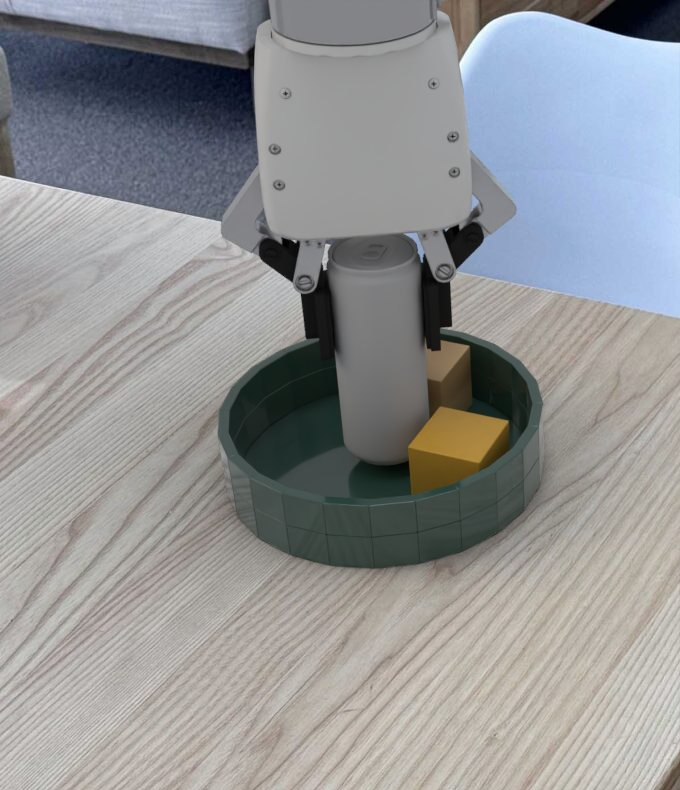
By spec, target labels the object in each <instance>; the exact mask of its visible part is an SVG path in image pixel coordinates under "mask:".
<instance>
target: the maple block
mask: <svg viewBox="0 0 680 790" xmlns="http://www.w3.org/2000/svg"><path fill="white" fill-rule="evenodd" d="M425 348H426V368H427V385H428V402H429V419H430V418H431V417H432V416H433V415H434V413H435V412H436V411H437V410H438V408H439V407H446V408H450V409H455V410H460V411H465V412H466V411H467V410H468V409H469V408H470V406H471V405H472V384H471V362H470V346H468V345H462V344H457V343H452V342H447V341H442V340H441V351H431V349H427V345H426V339H425Z"/></svg>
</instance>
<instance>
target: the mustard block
mask: <svg viewBox="0 0 680 790" xmlns="http://www.w3.org/2000/svg"><path fill="white" fill-rule="evenodd" d="M509 450H510V444H509V421H507V420H503V419H498V418H493V417H488V416H484V415H479V414H474V413H469V412H465V411H460V410H455V409H450V408H446V407H439V408H438V410H437V411H436V412H435V413H434V415H433V416H432V417H431V418H430V420H429V421H428V422H427V423H426V425H425V426H424V427H423V428H422V430H421V431H420V432H419V434H418V435H417V436H416V437H415V439H414V440H413V441H412V442H411V444H410V445H409V446H408V453H409V466H410V479H411V492H412V495H414V494H418V493H421V492H425V491H429V490H433V489H436V488H440V487H444V486H447V485H451V484H454V483H456V482H458V481H460V480H462V479H464V478H466V477H468V476H470V475H473V474H475V473H477V472H479V471H481V470H483V469H485V468H487V467H489V466H490V465H491V464H493V463H494V462H495V461H497V460H498V459H499V458H500V457H502V456H503V455H504V454H505V453H507V452H508V451H509Z"/></svg>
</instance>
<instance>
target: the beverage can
mask: <svg viewBox="0 0 680 790" xmlns="http://www.w3.org/2000/svg"><path fill="white" fill-rule="evenodd" d="M418 248H419V247H418V244H417V242H416V241H415V240H414V238H412V237H411V236H409V235H407V234H394V235H382V236H369V237H356V238H342V239H335V241H334V242H332V243H331V244H330V245H329V247H328V249H327V260H326V261H327V262H326V264H325V265H326V266H325V267H326V270H327V279H328V289H329V299H330V308H331V318H332V328H333V338H334V348H335V358H336V368H337V378H338V388H339V398H340V408H341V418H342V428H343V438H344V444H345V445H346V447H347V449H348V450H349V451H350V452H351V453H352V454H354V455H355V456H356V457H357V458H358V459H360V460H362V461H364V462H367V463H370V464H374V465H396V464H399V463H403V462H406V461H408V460H409V453H408V446H409V445H410V444H411V442H412V441H413V440H414V439H415V437H416V436H417V435H418V434H419V432H420V431H421V430H422V428H423V427H424V426H425V425H426V423H427V422H428V421H429V420H430V419H429V402H428V385H427V368H426V348H425V325H424V305H423V288H422V265H421V262H422V260H421V259H422V258H421V256H420V254H419V249H418Z"/></svg>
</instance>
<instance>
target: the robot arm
mask: <svg viewBox="0 0 680 790" xmlns="http://www.w3.org/2000/svg"><path fill="white" fill-rule="evenodd" d="M444 1H447V0H267V2H268V10H269V18H270V19H267V20H265V21H264V22H262V23H260V24H259V25H257V28H256V34H255V44H254V60H253V62H254V63H253V64H254V65H253V94H254V95H253V96H254V97H253V98H254V115H255V133H256V145H257V146H256V147H257V158H258V164H257V165H256V167H255V168H254V170H253V171H252V173H251V174H250V175H249V177H248V178H247V180H246V181H245V183H244V184H243V186H242V187H240V189H239V192H237V194H236V196H235V197H234V199H232V201H231V203H230V205H228V208H226V210H225V212H224V213H223V215H222V216H221V221H220V234H221V236H222V238H223V239H225V240H226V241H228V242H229V243H232V244H234V245H235V246H237V247H239V248H241V249H243V251H244V250H245V251H246V252H248V253H250V254H254V255H256V256H257V257H259V259H260V260H261V261H262V262H263V263H264V264H265V265H267V266H268V267H270V268H271V269H272V270H274V271H275V272H276V273H278V275H280V276H282V277H283V278H285V279H286V280H288V281H289V282H290V283H292V286H293V289H294V290H295V291H296V292H297V293H299V294H300V300H301V301H300V302H301V311H302V319H303V327H304V335H305V340H307V339H315V338H319V343H320V352H321V361H326V360H331V357H335V348H334V338H333V328H332V318H331V308H330V299H329V289H328V279H327V269H324V265H323V258H324V254H325V249H326V244H327V241H329V240H338V239H342V238H356V237H369V236H382V235H394V234H405V235H407V234H415V233H416V234H417V237H418V240H419V242H420V245H421V248H422V250H423V255H422V261H421V265H422V288H423V305H424V325H425V339H426V345H427V349H431V351H441V337H440V328H443V329H447V328H453V307H452V290H451V289H452V288H451V282H452V281H453V280H454V279H455V278H456V275H457V270H458V269H459V268H460V267H461V266H462V265H463V264H464V263H465V262H466V261H467V260H468V259H469V258H470V257H471V255H472V254H474V253H475V251H477V250H478V249H479V248H480V247H481V246H482V245H483V243H484V241H485V239H486V238H487V237H489V236H490V235H492V234H493V233H495V232H496V231H497V230H499V229H500V228H501V227H502V226H503V225H505V224H506V223H507V222H509V221H510V220H512V218H514V217H515V215H516V214H517V210H518V209H517V204H516V202H515V199H514V196H513V194H512V193H511V192H510V191H509V189H508V188H507V187H506V186H505V185H504V184H503V183H502V182H501V181H500V180H499V179H498V177H496V175H494V174H493V172H491V170H490V169H489V168H488V167H487V166H486V165H485V164H484V163H483V162H482V160H481V159H480V158H479V157H477V156H476V154H475V153H474V152H473V151H472V150H471V148H470V136H469V126H468V125H469V124H468V114H467V109H466V108H467V107H466V99H465V91H464V83H463V77H462V74H461V67H460V58H459V51H458V47H457V41H456V37H455V33H454V29H453V26H452V22H451V18H450V16H449V15H448V14H447V13H445V12H444V11H441V10H438V8H443V2H444ZM473 197H474V198H475V199H477V201H478V203H477V204H476V205H475V206H474V207H473ZM263 211H264V216H265V220H266V223H267V226H266V224H265V223H263V222H262V221H260V220H259V217H260V215H262V213H263Z"/></svg>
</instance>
